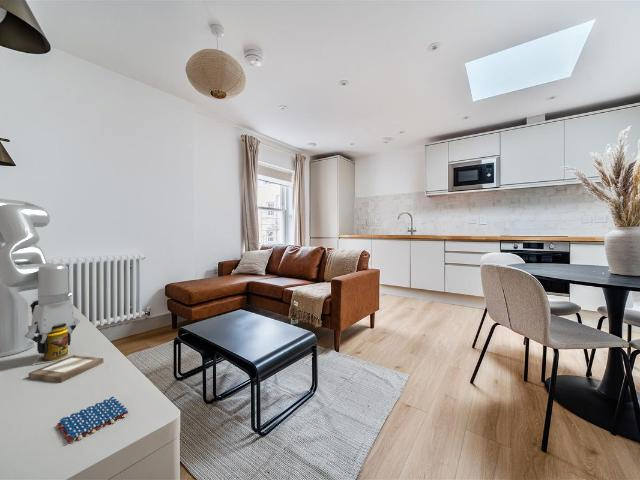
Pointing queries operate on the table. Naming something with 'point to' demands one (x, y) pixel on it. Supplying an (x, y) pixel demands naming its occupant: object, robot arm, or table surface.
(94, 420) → the woven mat
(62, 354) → the condiment
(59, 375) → the picture frame
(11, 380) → the table surface
